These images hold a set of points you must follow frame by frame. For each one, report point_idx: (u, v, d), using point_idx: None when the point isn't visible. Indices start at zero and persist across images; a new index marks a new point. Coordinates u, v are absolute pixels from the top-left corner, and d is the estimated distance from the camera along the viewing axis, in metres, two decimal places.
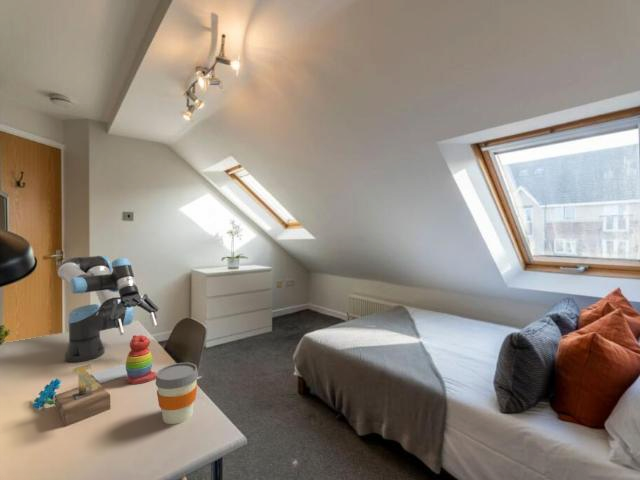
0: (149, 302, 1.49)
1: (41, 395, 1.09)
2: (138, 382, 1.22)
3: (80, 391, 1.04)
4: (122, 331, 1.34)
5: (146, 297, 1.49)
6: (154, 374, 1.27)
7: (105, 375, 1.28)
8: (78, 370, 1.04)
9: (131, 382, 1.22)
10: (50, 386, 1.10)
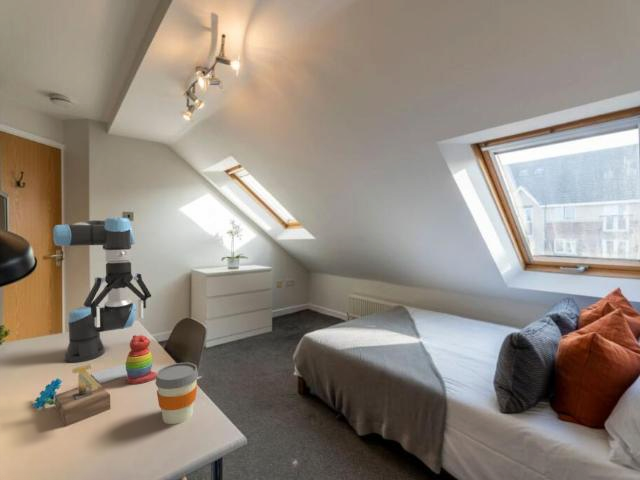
0: (141, 286, 1.14)
1: (42, 395, 1.09)
2: (138, 382, 1.22)
3: (80, 391, 1.04)
4: (98, 325, 1.04)
5: (139, 278, 1.14)
6: (154, 374, 1.27)
7: (105, 375, 1.28)
8: (78, 370, 1.04)
9: (131, 382, 1.22)
10: (51, 386, 1.10)
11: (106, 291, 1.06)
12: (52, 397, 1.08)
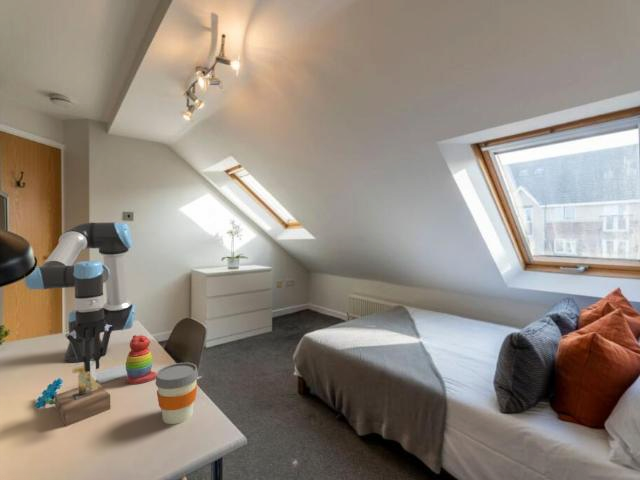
0: (105, 340, 1.04)
1: (43, 394, 1.09)
2: (138, 382, 1.22)
3: (80, 391, 1.04)
4: None
5: (109, 331, 1.05)
6: (154, 374, 1.27)
7: (105, 375, 1.28)
8: (78, 370, 1.04)
9: (131, 382, 1.22)
10: (52, 386, 1.10)
11: (86, 343, 1.00)
12: (53, 397, 1.08)
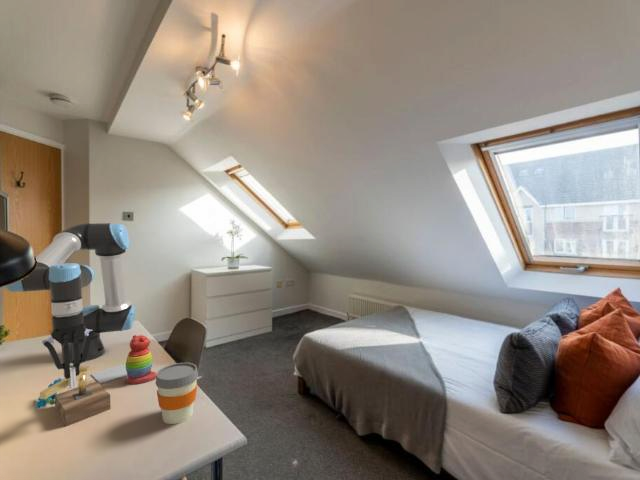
0: (85, 345, 1.00)
1: None
2: (138, 382, 1.22)
3: None
4: (72, 386, 0.97)
5: (89, 336, 1.01)
6: (154, 374, 1.27)
7: (105, 375, 1.28)
8: None
9: (131, 382, 1.22)
10: None
11: (65, 349, 0.96)
12: (53, 397, 1.08)
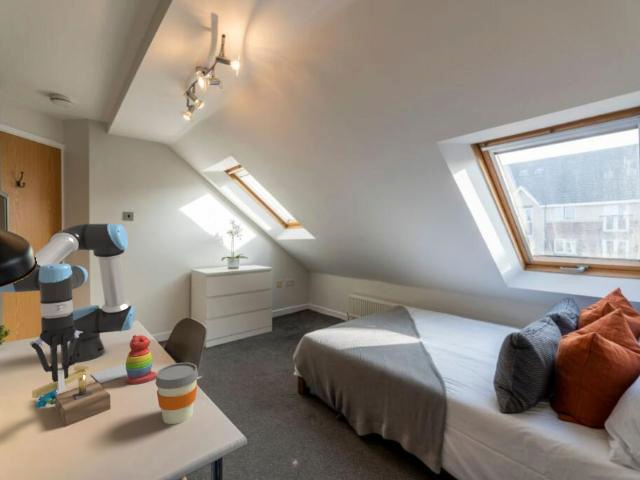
0: (74, 347, 0.98)
1: None
2: (138, 382, 1.22)
3: None
4: (60, 390, 0.95)
5: (79, 338, 0.99)
6: (154, 374, 1.27)
7: (105, 375, 1.28)
8: (76, 369, 1.04)
9: (131, 382, 1.22)
10: None
11: (53, 352, 0.94)
12: (54, 397, 1.08)
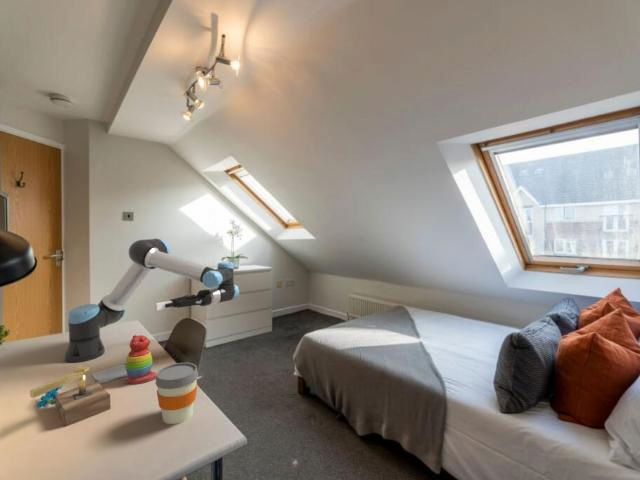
0: None
1: (46, 394, 1.09)
2: (138, 382, 1.22)
3: None
4: None
5: None
6: (154, 374, 1.27)
7: (105, 375, 1.28)
8: (77, 369, 1.05)
9: (131, 382, 1.22)
10: None
11: None
12: None
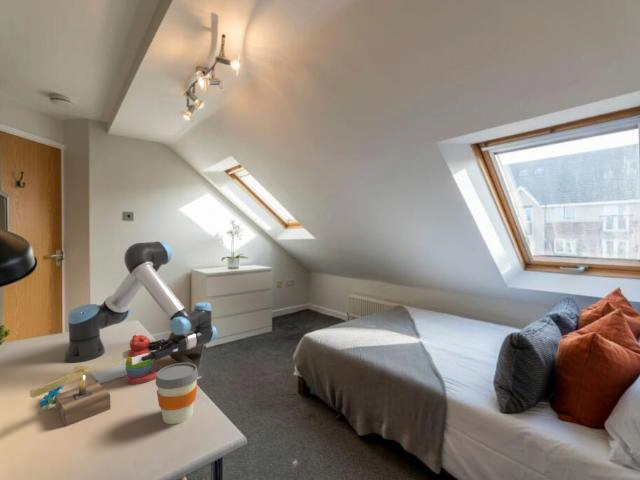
0: None
1: (48, 393, 1.10)
2: (138, 382, 1.22)
3: None
4: (133, 364, 1.20)
5: None
6: (154, 374, 1.27)
7: (105, 375, 1.28)
8: (77, 369, 1.05)
9: (131, 382, 1.22)
10: None
11: None
12: None
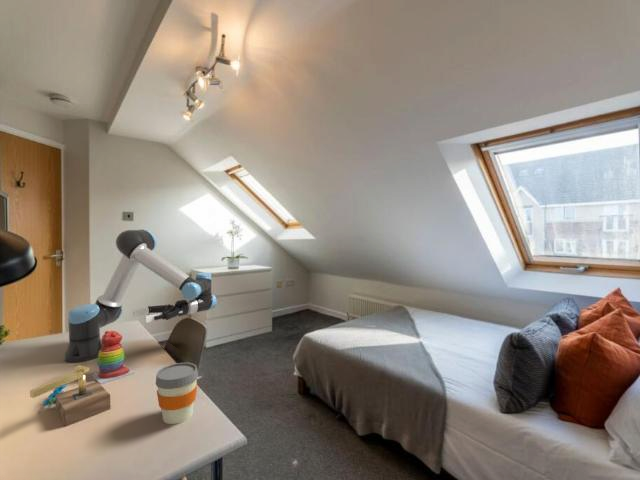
0: None
1: (53, 392, 1.11)
2: (109, 376, 1.26)
3: None
4: (147, 322, 1.34)
5: None
6: (126, 369, 1.31)
7: None
8: (77, 369, 1.05)
9: (102, 377, 1.26)
10: None
11: None
12: None
